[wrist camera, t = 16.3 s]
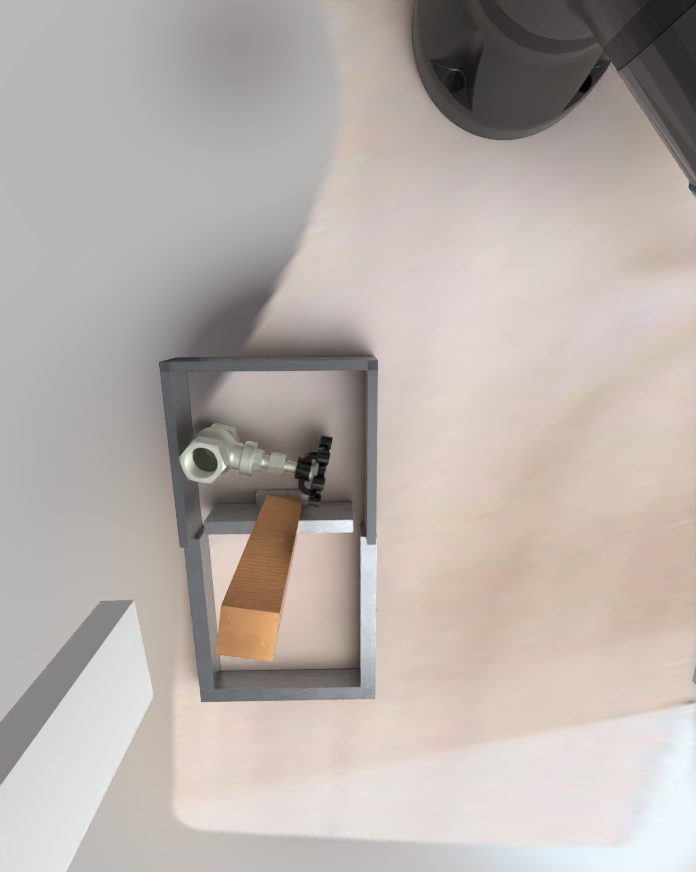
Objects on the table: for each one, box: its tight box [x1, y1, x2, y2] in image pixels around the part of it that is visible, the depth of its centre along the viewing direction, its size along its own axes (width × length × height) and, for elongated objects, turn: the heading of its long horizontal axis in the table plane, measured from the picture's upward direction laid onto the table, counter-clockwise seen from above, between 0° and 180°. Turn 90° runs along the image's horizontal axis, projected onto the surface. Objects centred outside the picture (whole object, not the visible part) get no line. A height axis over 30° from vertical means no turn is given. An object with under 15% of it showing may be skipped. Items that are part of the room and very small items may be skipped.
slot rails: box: [184, 525, 377, 702], centre depth 46 cm, size 18×18×2 cm
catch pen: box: [159, 356, 378, 547], centre depth 40 cm, size 18×16×4 cm
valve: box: [179, 423, 332, 508], centre depth 39 cm, size 7×7×12 cm
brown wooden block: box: [204, 489, 353, 662], centre depth 35 cm, size 13×4×18 cm, turn 90°
